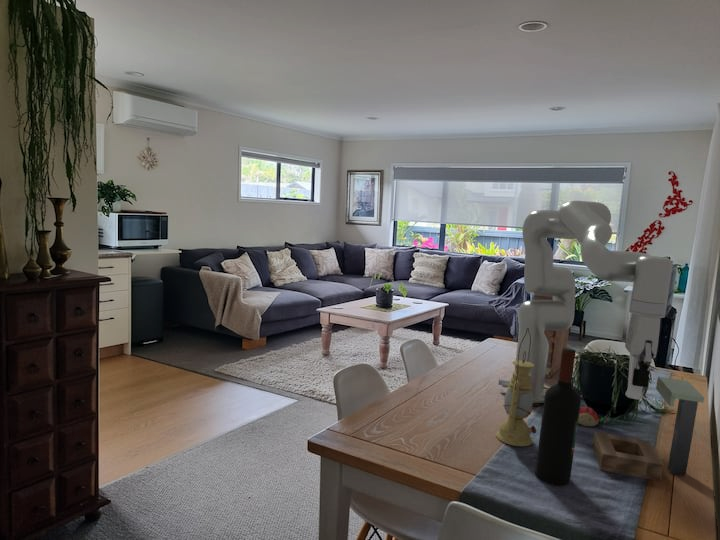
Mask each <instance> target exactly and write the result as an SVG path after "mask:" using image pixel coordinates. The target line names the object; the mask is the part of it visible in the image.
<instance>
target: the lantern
mask: <svg viewBox="0 0 720 540" xmlns="http://www.w3.org/2000/svg"><path fill="white" fill-rule="evenodd" d="M527 329H528V333H529V328H527ZM526 333H527V330H526ZM529 335H530V333H529ZM525 336H526V334H525ZM525 336H524V337H525ZM524 337H523V339H524ZM523 339H522V341H523ZM522 341H521V344H522ZM521 344H520V347H521ZM530 345H531V335H530ZM519 352H520V348H519ZM524 353H525V357H526V351H524ZM529 353H530V347H529ZM523 358H524V354H523ZM528 359H529V354H528ZM512 364H513V365H514V370H515V369H516V371H515V372H514V371H513V372H512V377H511V379H510V380H511V382H510V383H509V384H510V385H509V386H508V388H507V389H506V391H505V395H504V404H503V407H504V410H505V413H506V414H507V415H508V418H506V419H504V420H503V421H502V423H500V425H499V430H498V431H497V432H496V434H495V436H496V438H497V439H498V440H499V441H500V442H502V443H504V444H506V445H510V446H514V447H529V446H531V445H532V444H533V439H532V437H531V434H532V433H533V434H536V433H537V429H536V426H535V425H531V427H529V425H528V423H527V422H526V421H525V420H524V419H526V418H528V416H530V415H531V413H532V411H533V404H534V403H533V394H532V390H531V388H532V386H531V375H530V374H529V371H530V368H533V367H534V365H533V364H532V363H530V362H528V361H525V359H524V360H523V361H519V354H518V361H516V360H513V361H512Z"/></svg>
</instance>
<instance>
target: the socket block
mask: <svg viewBox="0 0 720 540" xmlns="http://www.w3.org/2000/svg"><path fill="white" fill-rule="evenodd" d="M591 447H592V450H593V453H594V452H595V453H594V455H596V456H595V458H596V461H597V464H598V467H599V469H600V471H605V472H611V473H615V474H621V475H626V476H630V477H631V476H632V477H635V478H636V477H637V478H641V479H647V480H651V481H658V482H662V475H663V469H664V464H663V463H664V462H662V460H661V459H660V457H659V455H658V453H657V452H656V450H655V449H654V446H653V445H652V443H651V442H650V440H645V439H640V438H639V439H638V438H634V437H627V436H623V435H622V436H620V435H615V434H609V433H604V432H598V431H593V438H592V446H591Z"/></svg>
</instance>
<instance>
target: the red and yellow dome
mask: <svg viewBox="0 0 720 540" xmlns="http://www.w3.org/2000/svg"><path fill="white" fill-rule="evenodd" d="M578 424H579V425H580V424H581V426H584V427H588V426H589V428H590V427H595V426H596V425H598V424H599V417H598V414H597V413H596V411H595V409H593V408H592V407H591V406H590V407H589V406H582V407H581V406H580V411H579V418H578Z"/></svg>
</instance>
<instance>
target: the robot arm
mask: <svg viewBox="0 0 720 540" xmlns="http://www.w3.org/2000/svg"><path fill="white" fill-rule="evenodd" d="M611 221H612V214H611V210H610V209H609V207H608V206H607V205H605V204H604V203H602V202H596V201H587V200H570V201H568V202H565V203H563V204H562V205H561V206H560V208H559V210H555V209H554V210H553V209H539V210H534V211H532V212H529V214H528V215H527V216H526V218H525V220H523V225H522V241H523V244H524V271H523V272H524V273H523V276H524V277H523V284H524V285H523V286H524V291H525V292H526V293H527V294H529V295H532V296H534V295H535V296H553V301H550V300H534V299H532V300H531V299H530V300H527V301H524V302H523V303H521V304H520V305H519V307H518V309H517V310H518V311H517V322H518V337H517V345H516V346H517V347H516V353H515V354H516V356H515V361H518V354H519V361H523V360H524V359H525V361H528V362H530V363H532V364H533V365H534V367H533V368H530V371H529V374H530V375H531V386H532V388H531V390H532V394H533V404H541V403H542V404H544V399H545V393H546V392H545V391H544V390H545V389H544V387H545V380H546V377H545V373H546V365H547V358H548V350H549V344H548V340H547V338H546V336H545V334H544V331H547V330H566V329H568V328H569V329H570V328H571V327H572V326H573V323H574V319H575V310H576V309H575V306H576V305H575V304H576V280H575V279H576V278H575V276H574V274H573V273H572V271H571V270H570V269H569V268H567V267H563V266H554V250H553V248H552V247H551V244H550V242H549V241H548V240H547V239H561V240H562V239H564V240H577V241H578V243H579V244H580V245H581V246H580V255H581V260H582V262H583V264H584V265H585V266H586V267H587V268H588V269H589V271H591V273H592V274H593V275H595V276H596V277H597V278H598V279H600V280H602V281H607V282H624V283H625V282H626V283H633V284H632V290H631V291H632V292H631V296H630V303H629V304H630V305H629V313H631V314H630V318H629V319H630V320H629V324H628V328H627V332H626V333H627V334H626V338H625V343H624V344H625V345H624V346H625V347H624V348H625V349H626V350H627V351H628V353H629V355H630V354H631V355H632V356H634V357H635V356H636V355H637V359H636V368H634V373H633V379H632V384H633V385H634V386H641V387H643V388H648V383H649V377H650V371H651V364H652V362H653V361H652V360H653V359H655V358H656V357H657V352H658V347H659V337H660V330H661V329H660V328H661V319H663V318H666V314H667V313H666V312H667V308H668V307H667V306H668V299H669V292H670V286H671V279H672V274H673V267H674V266H673V265H674V264H673V260H671V258H668V257H664V256H655V255H650V254H648V253H644V252H639V251H626V250H624V251H623V250H610V249H609V248H607V247H606V245H607V244H608V243H609V241H610V240H611V239H612V235H613V229H612V227H611V225H610V224H611ZM527 328H529V333H530V335H531V345H530V335H529V333H528V329H527ZM526 330H527V333H526ZM525 334H526V336H525ZM524 336H525V337H524ZM523 337H524V339H523ZM522 339H523V341H522ZM521 341H522V344H521ZM520 344H521V347H520ZM529 347H530V353H529ZM519 348H520V352H519ZM524 351H526V357H525V353H524ZM523 354H524V358H523ZM528 354H529V359H528ZM640 354H644V357H641V356H640ZM640 359H643V361H641V362H640ZM515 371H516V369H515V368H514V370H513V372H515ZM628 377H629V366H628V367H627V378H628ZM510 382H511V379H508V380H505V379H502V378H499V379H498V382H497V383H498V385H499V386H501V387H502V388H507V389H508V386H509V385H510V384H509V383H510Z"/></svg>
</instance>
